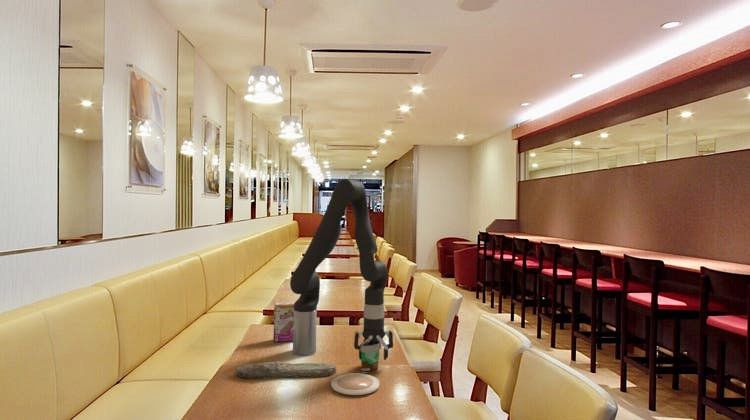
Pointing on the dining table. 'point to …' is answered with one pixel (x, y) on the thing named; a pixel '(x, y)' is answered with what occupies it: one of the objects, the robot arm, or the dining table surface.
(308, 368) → the elongated rock
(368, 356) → the food container
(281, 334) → the candy bar box
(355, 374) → the dish
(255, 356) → the dining table surface
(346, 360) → the dining table surface
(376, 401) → the dining table surface
